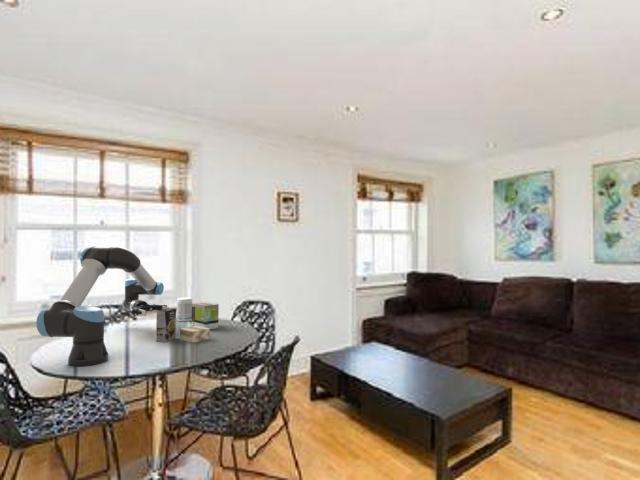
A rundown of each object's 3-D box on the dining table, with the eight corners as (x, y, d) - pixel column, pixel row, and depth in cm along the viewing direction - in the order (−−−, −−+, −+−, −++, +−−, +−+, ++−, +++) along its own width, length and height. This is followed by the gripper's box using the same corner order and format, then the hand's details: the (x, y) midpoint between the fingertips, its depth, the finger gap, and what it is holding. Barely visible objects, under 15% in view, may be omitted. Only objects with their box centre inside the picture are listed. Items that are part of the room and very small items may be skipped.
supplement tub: (192, 318, 271) (193, 297, 271) (191, 321, 262) (191, 299, 262) (177, 319, 269) (178, 297, 269) (175, 322, 260) (176, 299, 260)
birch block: (192, 343, 209) (192, 331, 209) (179, 340, 215) (180, 328, 215) (209, 339, 218) (209, 328, 218) (197, 336, 224) (197, 325, 224)
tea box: (219, 328, 244) (219, 303, 244) (204, 330, 236) (204, 305, 236) (205, 324, 254) (205, 301, 254) (190, 327, 246) (191, 302, 246)
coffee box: (166, 342, 209) (167, 311, 209) (155, 341, 211) (156, 310, 211) (176, 338, 218) (176, 308, 218) (165, 337, 220) (166, 307, 220)
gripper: (159, 310, 245) (177, 315, 231) (117, 316, 226) (134, 321, 212) (159, 298, 245) (178, 302, 231) (117, 303, 226) (134, 307, 212)
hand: (157, 311), depth 222 cm, fingers open, 13 cm apart
